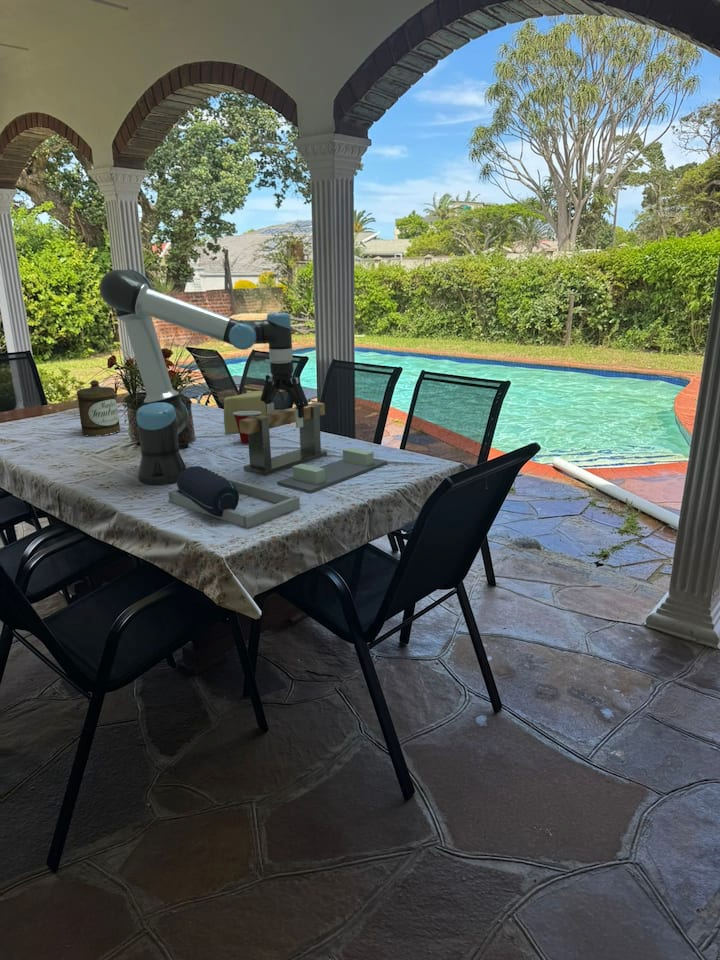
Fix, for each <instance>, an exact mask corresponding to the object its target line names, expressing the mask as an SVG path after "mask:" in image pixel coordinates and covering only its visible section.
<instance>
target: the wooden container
mask: <svg viewBox="0 0 720 960" xmlns="http://www.w3.org/2000/svg"><path fill="white" fill-rule="evenodd" d="M99 384H100V383H99V381H98V380H94V379H93V380H91V381H90V382H89V385H90V387H86V388H85V387H84V388H81V389H79V390H77V391H76V397H77V403H78V409H79V419H80V425H81V433H82V435H83V436H84V435H88V436H96V435H105V434H110V433H114V432H117V431H119V430H120V431H121V425H120V419H119V410H118V405H117V397H116V390H115V388H114V387H110V386H109V387H108V386H100V385H99ZM88 436H87V437H88Z"/></svg>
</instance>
